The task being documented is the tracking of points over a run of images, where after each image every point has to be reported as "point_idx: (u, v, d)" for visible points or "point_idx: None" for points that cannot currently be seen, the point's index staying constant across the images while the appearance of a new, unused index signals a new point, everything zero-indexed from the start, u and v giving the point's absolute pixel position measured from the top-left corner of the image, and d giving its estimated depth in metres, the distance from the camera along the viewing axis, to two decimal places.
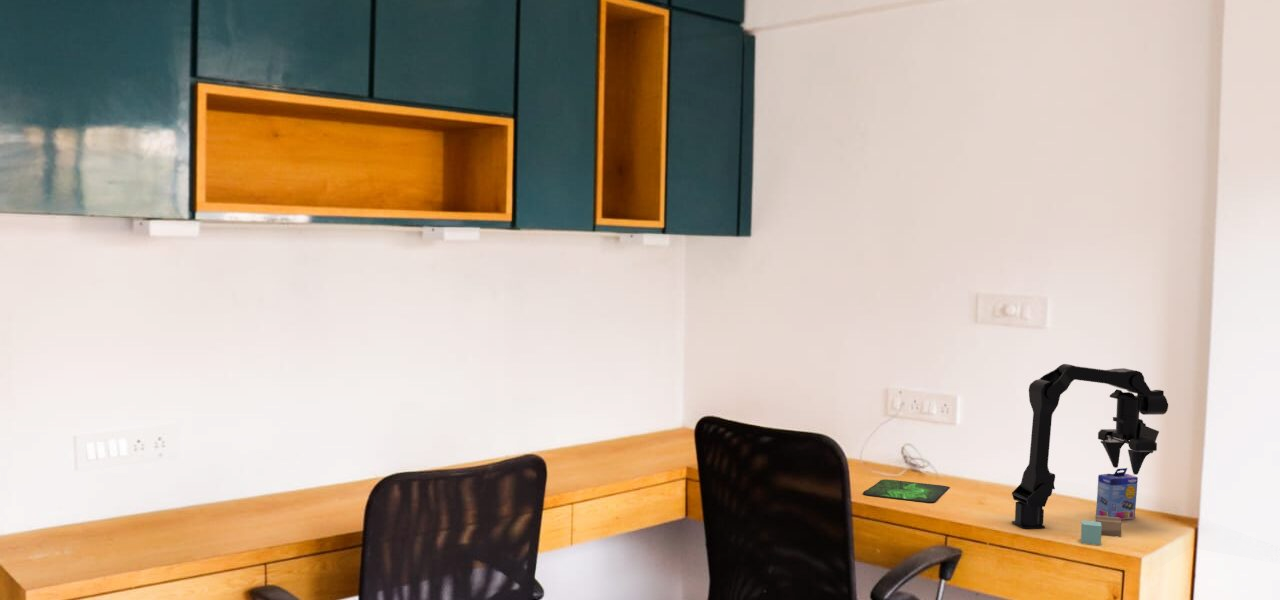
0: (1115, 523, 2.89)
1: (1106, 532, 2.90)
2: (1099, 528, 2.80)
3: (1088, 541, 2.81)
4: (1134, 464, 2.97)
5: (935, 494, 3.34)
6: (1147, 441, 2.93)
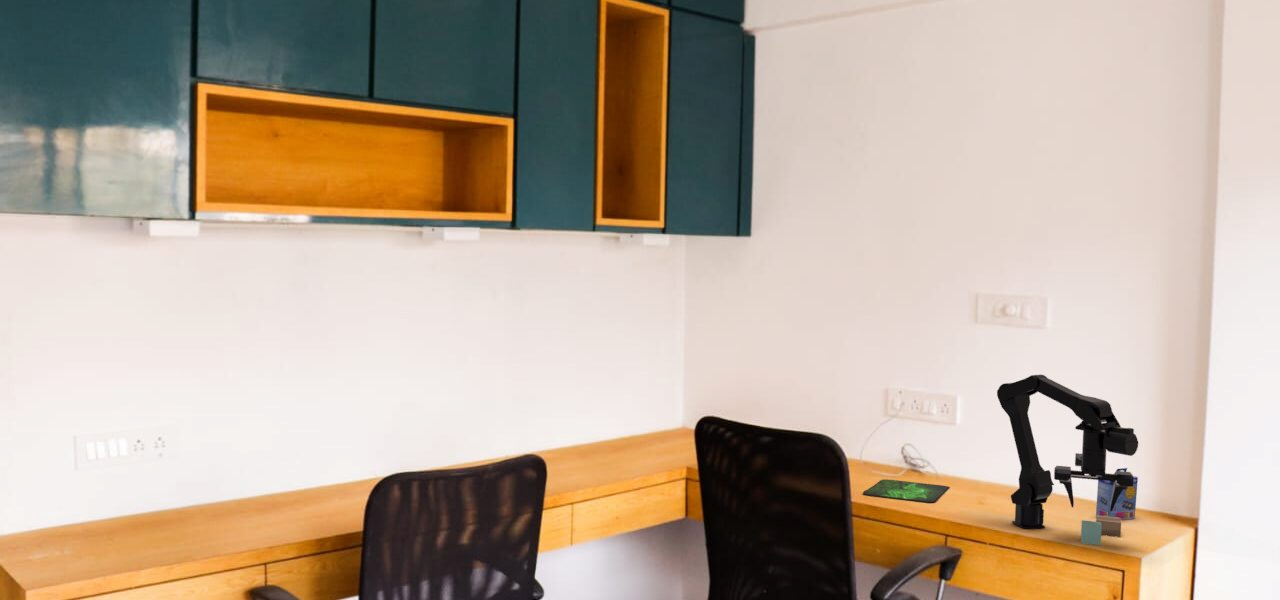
0: (1115, 523, 2.89)
1: (1106, 531, 2.90)
2: (1099, 528, 2.80)
3: (1088, 541, 2.81)
4: (1116, 500, 2.80)
5: (935, 494, 3.34)
6: (1131, 474, 2.79)
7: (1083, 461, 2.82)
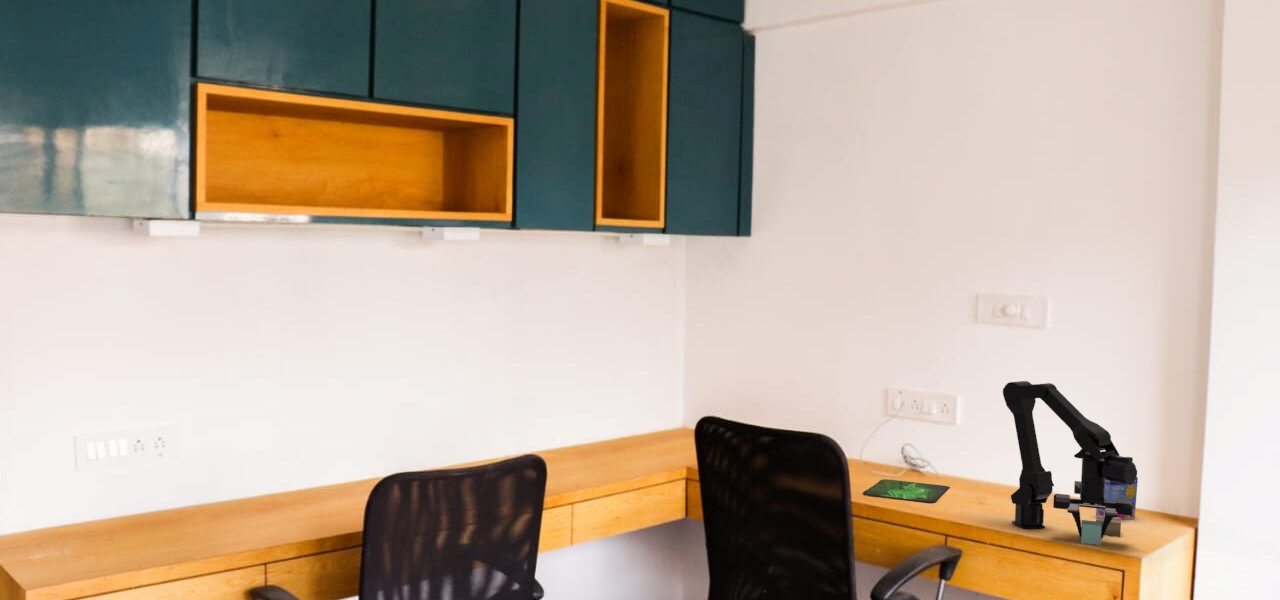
0: (1114, 523, 2.89)
1: (1106, 531, 2.90)
2: (1099, 528, 2.80)
3: (1088, 541, 2.81)
4: (1106, 528, 2.81)
5: (935, 494, 3.34)
6: (1130, 503, 2.80)
7: (1082, 489, 2.82)
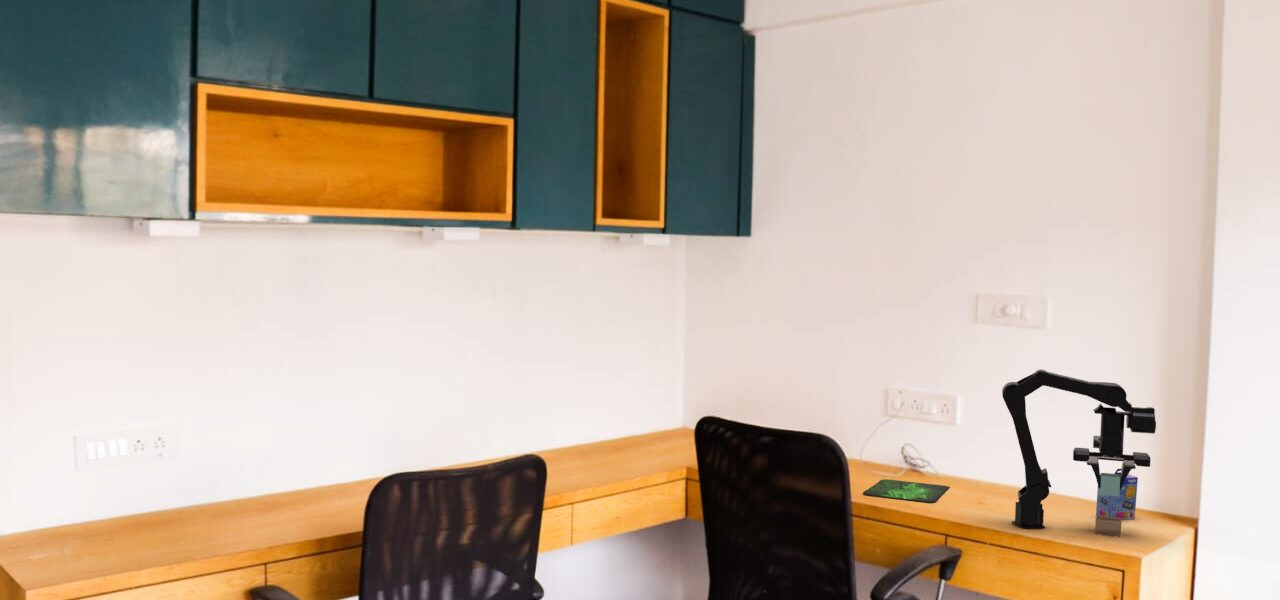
0: (1114, 523, 2.89)
1: (1105, 531, 2.90)
2: (1118, 479, 2.89)
3: (1107, 492, 2.90)
4: (1124, 480, 2.90)
5: (935, 494, 3.34)
6: (1148, 455, 2.88)
7: (1101, 442, 2.91)
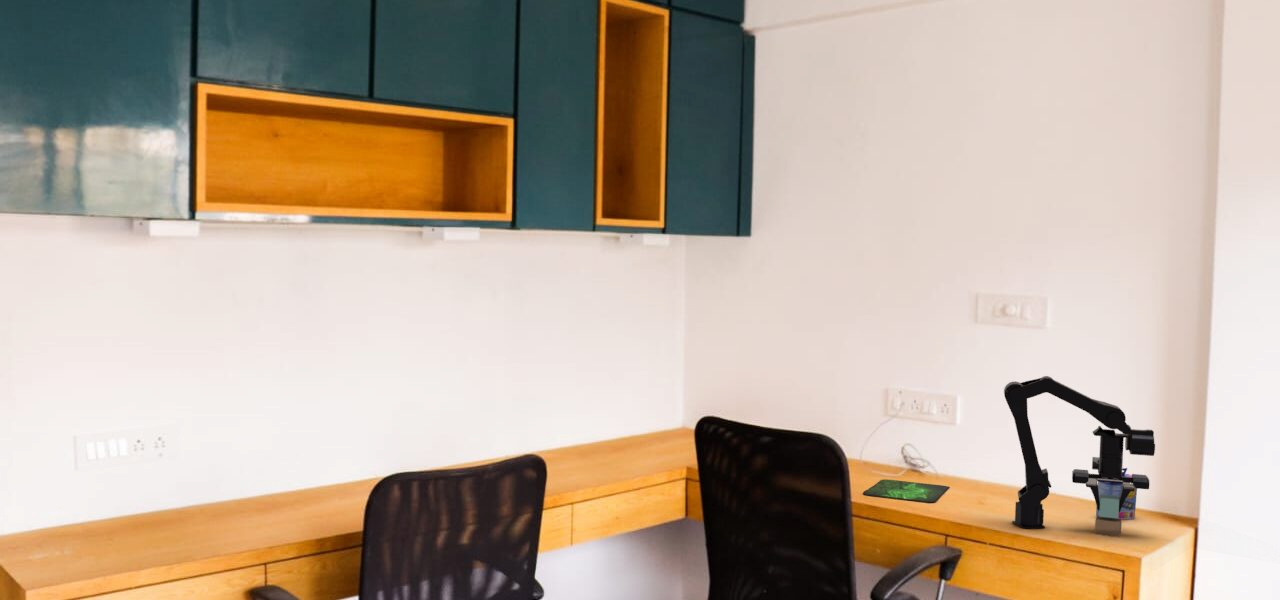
0: (1113, 523, 2.89)
1: (1105, 531, 2.90)
2: (1117, 501, 2.89)
3: (1106, 514, 2.90)
4: (1123, 502, 2.90)
5: (935, 494, 3.34)
6: (1147, 477, 2.89)
7: (1100, 465, 2.91)
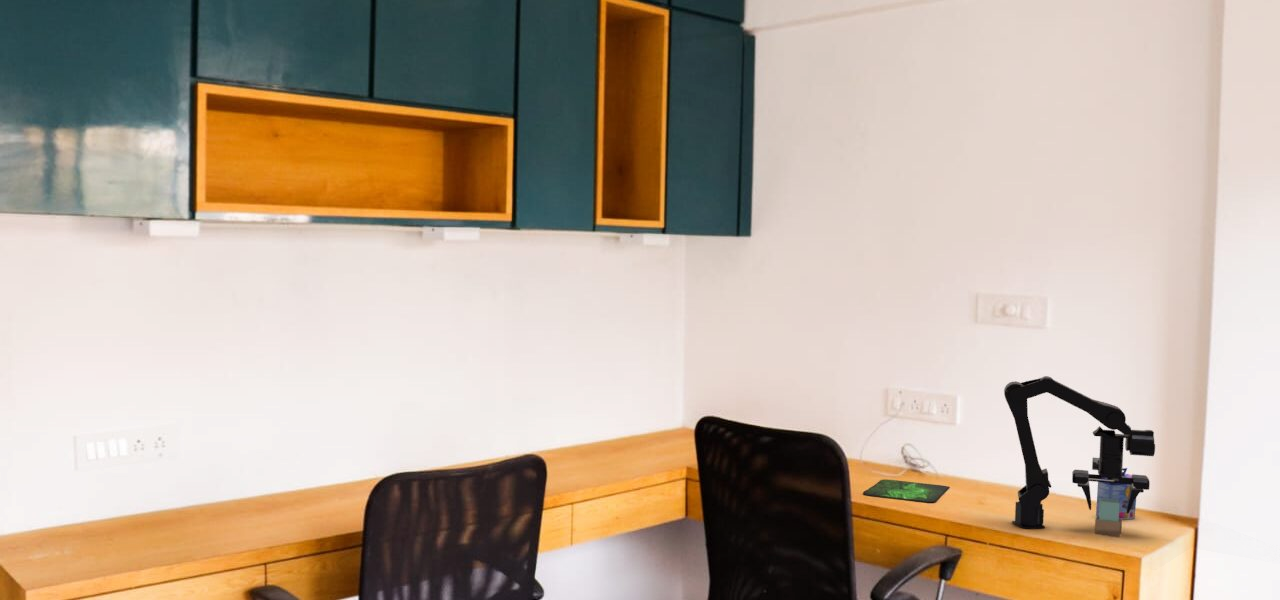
0: (1113, 523, 2.89)
1: (1105, 531, 2.90)
2: (1117, 505, 2.90)
3: (1106, 518, 2.91)
4: (1132, 503, 2.89)
5: (935, 494, 3.34)
6: (1147, 478, 2.89)
7: (1100, 465, 2.91)
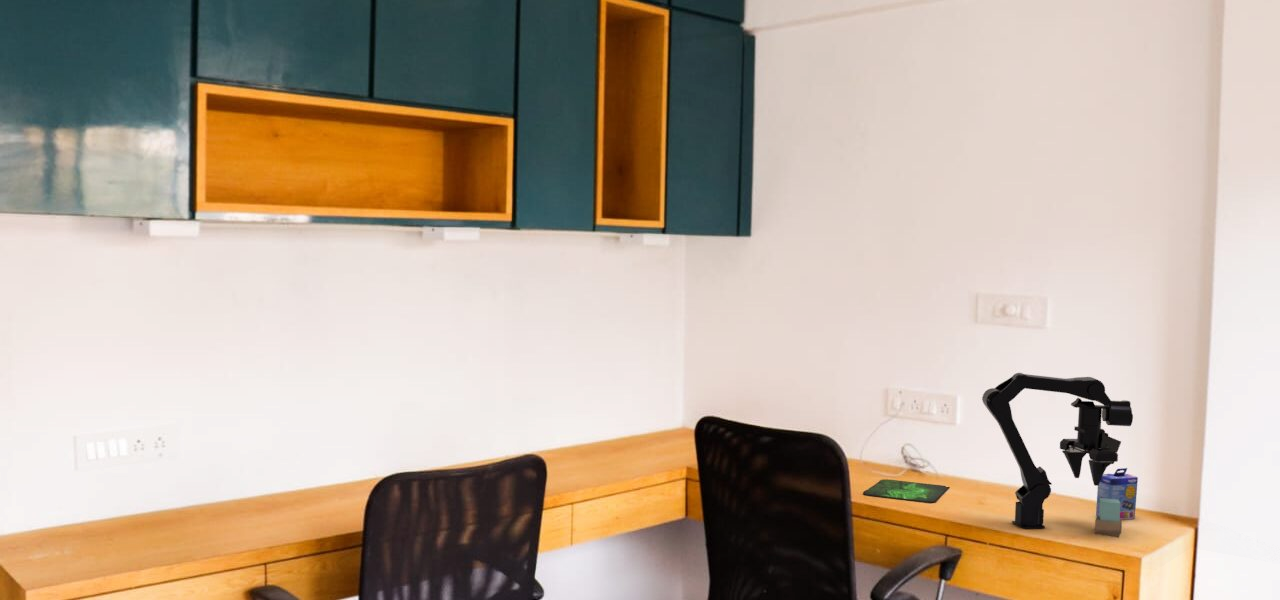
0: (1113, 523, 2.89)
1: (1105, 531, 2.90)
2: (1118, 505, 2.89)
3: (1107, 518, 2.90)
4: (1095, 475, 2.90)
5: (935, 494, 3.34)
6: (1108, 452, 2.87)
7: None
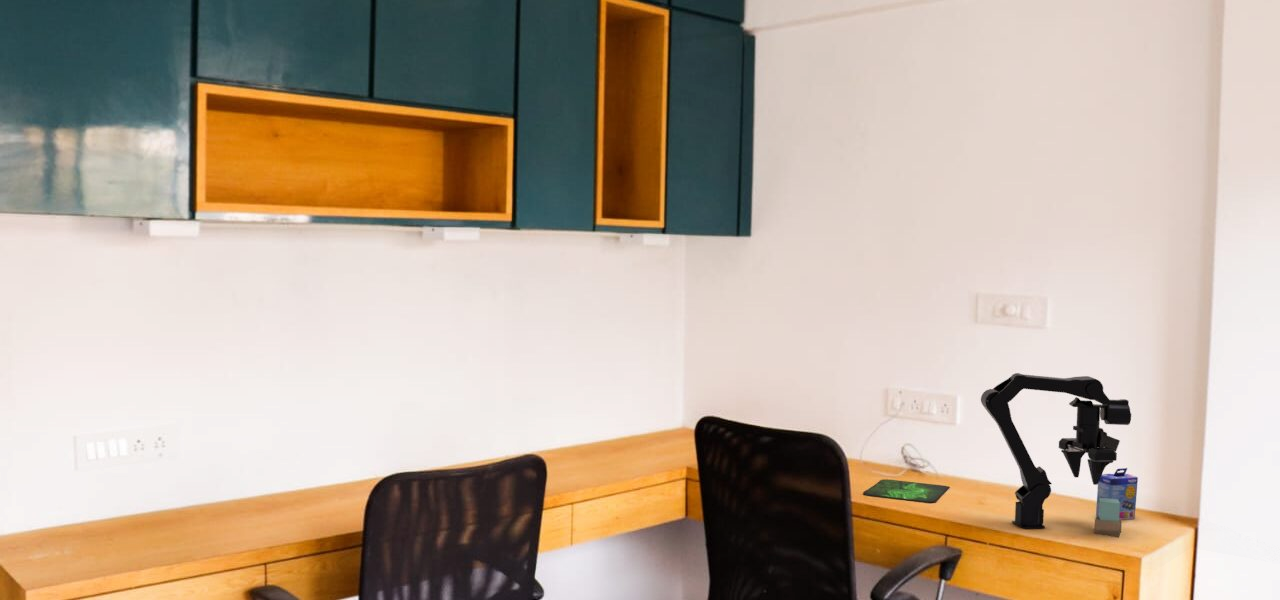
0: (1113, 523, 2.89)
1: (1104, 531, 2.90)
2: (1117, 505, 2.89)
3: (1107, 518, 2.90)
4: (1094, 474, 2.90)
5: (935, 494, 3.34)
6: (1106, 451, 2.87)
7: None
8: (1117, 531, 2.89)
